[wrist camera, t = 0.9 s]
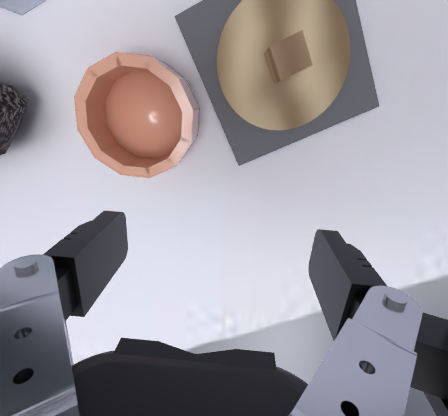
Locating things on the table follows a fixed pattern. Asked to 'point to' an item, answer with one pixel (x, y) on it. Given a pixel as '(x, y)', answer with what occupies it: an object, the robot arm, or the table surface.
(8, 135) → the decorative stone
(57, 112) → the table surface
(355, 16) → the mat
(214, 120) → the table surface
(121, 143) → the bowl
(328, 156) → the table surface
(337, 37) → the lid
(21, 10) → the small bowl
